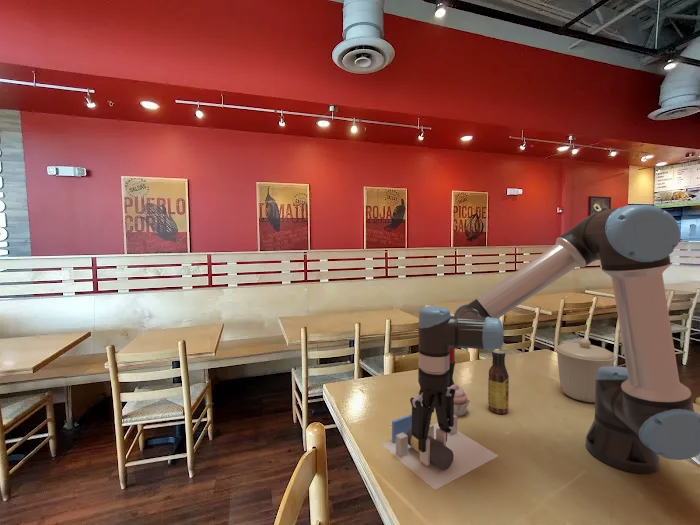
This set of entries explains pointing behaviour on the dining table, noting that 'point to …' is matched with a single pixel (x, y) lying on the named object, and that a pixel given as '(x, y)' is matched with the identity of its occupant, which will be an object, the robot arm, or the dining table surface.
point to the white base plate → (463, 447)
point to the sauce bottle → (498, 384)
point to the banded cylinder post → (434, 451)
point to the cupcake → (460, 401)
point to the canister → (581, 368)
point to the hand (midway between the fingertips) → (432, 458)
